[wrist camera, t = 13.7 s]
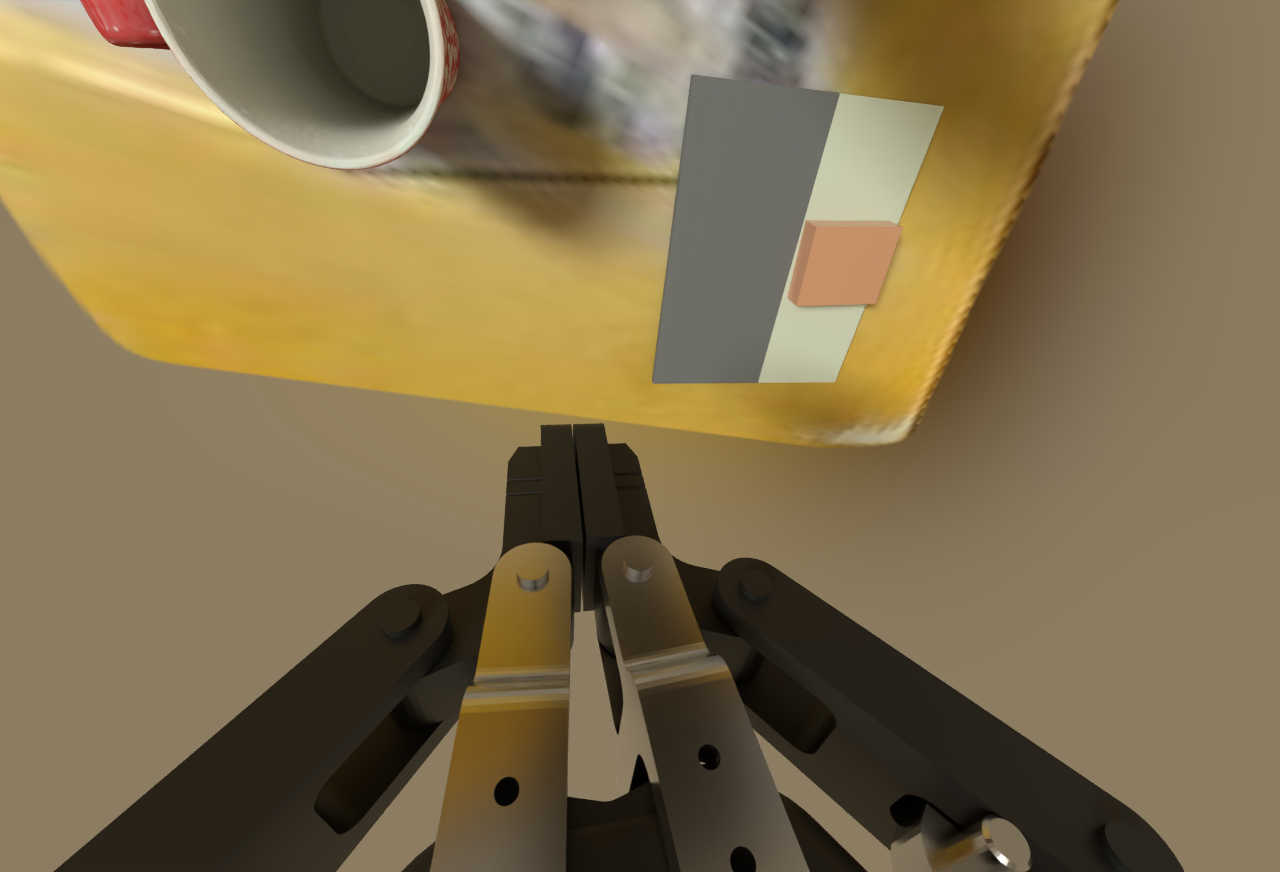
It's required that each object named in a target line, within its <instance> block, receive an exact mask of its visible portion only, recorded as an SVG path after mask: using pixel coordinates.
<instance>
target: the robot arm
mask: <svg viewBox="0 0 1280 872" xmlns="http://www.w3.org/2000/svg"><path fill="white" fill-rule="evenodd" d="M581 589H582V598H583V610H584V611H591V610H595V619H596V628H597V632H596V650H597V656H598V661H599V666H600V672H601V677H602V683H603V688H604V693H605V698H606V704H607V709H608V715H609V720H610V726H611V730H612V736H613V744H614V754H615V769H616V777H617V785H618V791H619V798H617V799H615V800H612V801H608V802H601V801H594V800H587V799H579V798H573V797H568V752H569V751H568V750H569V697H570V695H569V694H570V650H571V648H572V645H573V640H574V612H580V608H581ZM458 719H459V720H458ZM457 720H458V725H457V731H456V736H455V741H454V747H453V752H452V758H451V763H450V768H449V773H448V779H447V784H446V789H445V795H444V800H443V805H442V810H441V816H440V821H439V827H438V832H437V837H436V841H435V842H434V843H433V844H432V845H430V846H429V847H428V848H427V849H426V850H424V851H423V852H422V853H420V854H419V855H418V856H417V857H416V858H415V859H414V860H413V861H412V862H411V863H410V864H409V865H408V866H407V867H406V868H405V869H404V870H403V871H402V872H867V871H866V870H865V869H864V868H863V867H862V866H861V865H860V864H859V863H858V862H857V861H856V860H855V859H854V858H853V857H852V856H851V855H850V854H849V853H848V852H847V851H846V850H845V849H844V848H843V847H842V846H841V845H840V844H839V843H838V842H837V841H836V840H835V839H834V838H833V837H832V836H831V835H830V834H829V833H828V832H827V831H825V829H824V828H823V827H822V826H821V825H820V824H819V823H818V822H817V821H815V820H814V819H813V818H812V817H811V816H810V815H809V814H808V813H807V812H806V811H805V810H804V809H802V808H801V807H799V806H798V805H797V804H796V803H795V802H793V801H792V800H790V799H789V798H788V797H786V796H784V795H783V794H781V793H779V792H778V790H777V788H776V786H775V783H774V780H773V778H772V776H771V773H770V771H769V768H768V765H767V763H766V760H765V758H764V755H763V753H762V750H761V748H760V745H759V743H758V740H757V738H756V735H755V733H754V730H755V731H756V732H758V733H759V734H760V735H761V736H762V737H763V738H764V739H765V740H767V741H768V742H769V743H770V744H771V745H772V746H773V747H774V748H776V749H777V750H778V751H779V752H780V753H781V754H782V755H783V756H784V757H786V758H787V759H788V760H789V761H790V762H791V763H792V764H793V765H795V766H796V767H797V768H798V769H799V770H800V771H801V772H802V773H804V774H805V775H806V776H807V777H808V778H809V779H811V781H813V782H814V783H815V784H816V785H817V786H818V787H819V788H821V789H822V790H823V791H824V792H825V793H826V794H827V795H828V796H829V797H831V798H832V799H833V800H834V801H835V802H836V803H837V804H838V805H840V806H841V807H842V808H843V809H844V810H845V811H846V812H847V813H849V814H850V815H851V816H852V817H853V818H854V819H856V820H857V821H858V822H859V823H860V824H861V825H862V826H863V827H864V828H866V829H867V830H868V831H869V832H870V833H871V834H872V835H873V836H874V837H876V838H877V839H878V840H879V841H880V842H881V843H882V844H883V845H885V846H886V847H887V848H888V849H889V850H890V851H891V861H892V866H893V871H894V872H1184V870H1183V868H1182V866H1181V865H1180V863H1179V861H1178V860H1177V858H1176V857H1175V855H1174V853H1173V852H1172V851H1171V849H1170V848H1169V847H1168V845H1167V844H1166V843H1165V842H1164V840H1163V839H1162V838H1161V837H1160V836H1159V835H1158V834H1157V832H1156V831H1155V830H1154V829H1153V828H1152V827H1151V826H1150V825H1149V824H1148V823H1147V822H1146V821H1145V820H1143V819H1142V818H1141V817H1140V816H1139V815H1138V814H1137V813H1135V812H1134V811H1133V810H1131V809H1130V808H1129V807H1127V806H1126V805H1125V804H1123V803H1121V802H1120V801H1119V800H1117V799H1116V798H1114V797H1112V796H1111V795H1110V794H1108V793H1107V792H1105V791H1104V790H1102V789H1101V788H1100V787H1098V786H1097V785H1095V784H1094V783H1092V782H1090V781H1089V780H1088V779H1086V778H1085V777H1083V776H1082V775H1080V774H1079V773H1077V772H1076V771H1074V770H1073V769H1071V768H1070V767H1069V766H1067V765H1066V764H1064V763H1063V762H1061V761H1060V760H1058V759H1057V758H1055V757H1054V756H1052V755H1051V754H1049V753H1047V752H1046V751H1045V750H1043V749H1042V748H1040V747H1039V746H1038V745H1036V744H1035V743H1033V742H1032V741H1030V740H1029V739H1027V738H1026V737H1024V736H1023V735H1021V734H1020V733H1018V732H1017V731H1015V730H1014V729H1012V728H1011V727H1009V726H1008V725H1007V724H1005V723H1003V722H1002V721H1001V720H999V719H998V718H996V717H995V716H993V715H992V714H990V713H989V712H987V711H986V710H984V709H983V708H981V707H980V706H978V705H977V704H975V703H974V702H973V701H971V700H970V699H968V698H967V697H965V696H964V695H962V694H961V693H959V692H958V691H956V690H955V689H953V688H952V687H950V686H949V685H947V684H946V683H944V682H943V681H941V680H940V679H939V678H937V677H935V676H934V675H933V674H931V673H930V672H928V671H927V670H925V669H923V668H922V667H921V666H919V665H918V664H916V663H915V662H913V661H912V660H911V659H909V658H908V657H906V656H905V655H903V654H902V653H900V652H899V651H897V650H896V649H894V648H893V647H891V646H890V645H888V644H887V643H885V642H884V641H882V640H881V639H880V638H878V637H877V636H875V635H873V634H872V633H871V632H869V631H868V630H866V629H865V628H863V627H862V626H860V625H859V624H857V623H856V622H854V621H853V620H851V619H850V618H848V617H847V616H845V615H844V614H843V613H841V612H839V611H838V610H837V609H835V608H834V607H832V606H831V605H829V604H828V603H826V602H825V601H823V600H822V599H820V598H819V597H817V596H816V595H814V594H813V593H812V592H810V591H808V590H807V589H806V588H804V587H802V586H801V585H800V584H798V583H797V582H795V581H794V580H792V579H791V578H789V577H788V576H786V575H785V574H783V573H782V572H781V571H779V570H778V569H776V568H775V567H773V566H771V565H770V564H768V563H766V562H764V561H761V560H758V559H753V558H738V559H734V560H732V561H730V562H728V563H727V564H725V565H724V566H723V568H722V569H721V571H717V570H712V569H707V568H703V567H698V566H693V565H690V564H687V563H684V562H682V561H680V560H678V559H677V558H675V557H674V556H672V555H671V554H670V552H669V551H668V550H667V549H666V548H665V546H664V545H662V543H661V542H660V539H659V536H658V533H657V529H656V525H655V521H654V517H653V514H652V510H651V506H650V502H649V499H648V495H647V491H646V489H645V484H644V479H643V476H642V472H641V468H640V464H639V460H638V457H637V456H636V455H635V453H634V452H633V451H632V450H631V449H630V448H629V447H628V446H627V444H625V443H622V444H621V443H620V444H608V443H607V438H606V432H605V427H604V424H603V423H602V424H601V423H600V424H574V425H573V436H572V427H571V424H568V425H566V424H564V425H541V446H535V447H534V446H533V447H518V449H517V450H516V451H515V453H514V454H513V456H512V457H511V459H510V460H509V462H508V474H507V489H506V505H505V519H504V535H503V548H502V553H501V556H500V559H499V561H498V562H497V564H496V565H495V567H494V568H493V569H492V570H491V571H490V572H489V573H488V574H487V575H486V576H484V577H483V578H481V579H480V580H478V581H477V582H475V583H473V584H470V585H468V586H465V587H463V588H460V589H457V590H454V591H452V592H449V593H446V594H444V595H442V594H441V593H440V592H439V591H437V590H436V589H434V588H432V587H430V586H426V585H421V584H409V585H404V586H400V587H396V588H393V589H391V590H389V591H386V592H384V593H383V594H381V595H379V596H378V597H377V598H375V599H374V600H373V601H371V602H370V603H369V604H368V605H367V606H366V607H364V608H363V609H362V610H361V611H360V612H358V613H357V614H356V615H355V616H354V617H353V618H351V619H350V620H349V621H348V622H347V623H345V624H344V625H343V626H342V627H341V628H340V629H339V630H337V631H336V632H335V633H334V634H333V635H331V636H330V637H329V638H328V639H327V640H326V641H324V642H323V643H322V644H321V645H320V646H319V647H318V648H316V649H315V650H314V651H313V652H311V653H310V654H309V655H308V656H307V657H306V658H305V659H303V660H302V661H301V662H300V663H298V664H297V665H296V666H295V667H294V668H293V669H291V670H290V671H289V672H288V673H287V674H285V675H284V676H283V677H282V678H281V679H280V680H278V681H277V682H276V683H275V684H274V685H273V686H271V687H270V688H269V689H268V690H267V691H266V692H264V693H263V694H262V695H261V696H260V697H259V698H257V699H256V700H255V701H254V702H253V703H251V704H250V705H249V706H248V707H247V708H246V709H244V710H243V711H242V712H241V713H240V714H238V715H237V716H236V717H235V718H234V719H233V720H231V721H230V722H229V723H228V724H227V725H226V726H224V727H223V728H222V729H221V730H220V731H218V732H217V733H216V734H215V735H214V736H213V737H211V738H210V739H209V740H208V741H207V742H206V743H204V744H203V745H202V746H201V747H200V748H198V749H197V750H196V751H195V752H194V753H193V754H191V755H190V756H189V757H188V758H187V759H186V760H185V761H183V762H182V763H181V764H180V765H178V766H177V767H176V768H175V769H174V770H173V771H171V772H170V773H169V774H168V775H167V776H166V777H164V778H163V779H162V780H161V781H160V782H158V783H157V784H156V785H155V786H154V787H153V788H151V789H150V790H149V791H148V792H147V793H146V794H144V795H143V796H142V797H141V798H140V799H138V800H137V801H136V802H135V803H134V804H133V805H131V806H130V807H129V808H128V809H127V810H126V811H125V812H123V813H122V814H121V815H120V816H119V817H117V818H116V819H115V820H114V821H113V822H112V823H110V824H109V825H108V826H107V827H106V828H104V829H103V830H102V831H101V832H100V833H98V834H97V835H96V836H95V837H94V838H93V839H91V840H90V841H89V842H88V843H87V844H86V845H84V847H82V848H81V849H80V850H78V851H77V852H76V853H75V854H74V855H73V856H71V857H70V858H69V859H68V860H67V861H66V862H64V863H63V864H62V865H61V866H60V867H59V868H57V869H56V870H55V871H54V872H336V871H337V870H338V868H339V867H340V866H341V865H342V863H343V862H344V861H345V860H346V859H347V857H348V856H349V855H350V854H351V852H352V851H353V850H354V849H355V847H356V846H357V845H358V843H359V842H360V841H361V840H362V839H363V837H364V836H365V835H366V834H367V832H368V831H369V830H370V829H371V827H372V826H373V825H374V824H375V822H376V821H377V820H378V819H379V817H380V816H381V815H382V814H383V812H384V811H385V810H386V808H387V807H388V806H389V805H390V804H391V802H392V801H393V800H394V799H395V797H396V796H397V795H398V794H399V793H400V791H401V790H402V789H403V788H404V786H405V785H406V784H407V783H408V781H409V780H410V779H411V778H412V776H413V775H414V774H415V773H416V771H417V770H418V769H419V768H420V766H421V765H422V764H423V763H424V761H425V760H426V759H427V757H428V756H429V755H430V754H431V753H432V751H433V750H434V749H435V748H436V746H437V745H438V744H439V743H440V741H441V740H442V739H443V738H444V736H445V735H446V734H447V733H448V732H449V730H450V729H451V728H452V727H453V725H454V724H455V723H456V722H457ZM753 729H754V730H753Z"/></svg>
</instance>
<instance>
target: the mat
mask: <svg viewBox="0 0 1280 872" xmlns="http://www.w3.org/2000/svg"><path fill="white" fill-rule="evenodd" d="M943 109H944V106H938V105H930V104H922V103H914V102H906V101H898V100H890V99H882V98H874V97H866V96H858V95H850V94H842V93H834V92H826V91H818V90H810V89H802V88H794V87H786V86H778V85H770V84H762V83H754V82H746V81H738V80H730V79H722V78H714V77H706V76H698V75H691V81H690V89H689V97H688V105H687V113H686V120H685V128H684V136H683V144H682V151H681V159H680V167H679V175H678V182H677V190H676V198H675V206H674V214H673V221H672V229H671V237H670V245H669V252H668V260H667V268H666V276H665V283H664V291H663V299H662V307H661V314H660V322H659V330H658V338H657V346H656V353H655V361H654V369H653V377H652V381H653V384H656V383H802V382H835V381H836V379H837V376H838V374H839V371H840V369H841V366H842V364H843V361H844V359H845V356H846V354H847V351H848V348H849V346H850V343H851V341H852V338H853V336H854V333H855V331H856V328H857V326H858V323H859V321H860V318H861V316H862V313H863V311H864V308H865V306H866V304H856V305H821V306H796V305H795V304H794V303H792V302H791V301H790V300H789V299H788V298H787V296H788V292H789V288H790V284H791V280H792V275H793V271H794V267H795V263H796V259H797V254H798V250H799V246H800V242H801V238H802V234H803V229H804V225H805V221H806V220H831V221H891V222H893V223H896V224H898V222H899V220H900V217H901V215H902V212H903V210H904V207H905V205H906V202H907V200H908V197H909V195H910V192H911V190H912V187H913V185H914V182H915V180H916V177H917V174H918V172H919V169H920V167H921V164H922V162H923V159H924V157H925V154H926V152H927V149H928V147H929V144H930V142H931V139H932V137H933V134H934V132H935V129H936V127H937V124H938V122H939V119H940V116H941V114H942V111H943Z"/></svg>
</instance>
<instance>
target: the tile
mask: <svg viewBox="0 0 1280 872" xmlns="http://www.w3.org/2000/svg"><path fill="white" fill-rule="evenodd" d="M902 229H903V227H902V226H900V225H898V224H896V223H893V222H891V221H831V220H806V221H805V225H804V229H803V234H802V238H801V242H800V246H799V250H798V254H797V259H796V263H795V267H794V271H793V275H792V280H791V284H790V288H789V292H788V296H787V298H788V299H789V300H790V301H791V302H792V303H794V304H795V305H796V306H821V305H856V304H876V301H877V298H878V295H879V293H880V290H881V287H882V284H883V281H884V279H885V276H886V273H887V270H888V268H889V265H890V262H891V259H892V256H893V254H894V251H895V248H896V245H897V242H898V240H899V237H900V234H901V231H902Z"/></svg>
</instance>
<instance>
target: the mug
mask: <svg viewBox="0 0 1280 872" xmlns="http://www.w3.org/2000/svg"><path fill="white" fill-rule="evenodd" d="M80 1H81V3H82V5H83V6H84V8H85V10H86V12H87V13H88V15H89V17H90V18H91V20H92V22H93V23H94V25H95V27H96V28H97V30H98V31H99V32H100V33H101V35H102V36H103V37H104V38H105V39H106V40H107V41H108V42H109V43H111V44H113V45H116V46H120V47H135V48H154V49H167V50H171V51H172V53H173V54H174V56H175V57H176V58H177V60H178V61H179V63H180V64H181V65H182V67H183V68H184V69H185V71H186V72H187V73H188V74H189V76H190V77H191V78H192V80H193V81H194V82H195V83H196V84H197V86H198V87H199V88H200V89H201V90H202V91H203V92H204V93H205V95H206V96H207V97H208V98H209V99H210V100H211V101H212V102H213V103H214V104H215V105H216V106H217V107H218V108H219V109H220V110H221V111H222V112H223V113H224V114H226V115H227V116H228V117H229V118H230V119H232V120H233V121H234V122H235V123H236V124H238V125H239V126H240V127H242V128H243V129H244V130H246V131H247V132H248V133H250V134H251V135H253V136H254V137H256V138H257V139H259V140H260V141H262V142H264V143H265V144H267V145H269V146H270V147H272V148H274V149H276V150H278V151H280V152H282V153H284V154H286V155H288V156H290V157H293V158H295V159H298V160H301V161H303V162H306V163H309V164H312V165H316V166H321V167H326V168H331V169H338V170H361V169H368V168H373V167H378V166H381V165H384V164H386V163H389V162H391V161H393V160H396V159H397V158H399V157H401V156H402V155H404V154H405V153H407V152H408V151H409V150H410V149H412V148H413V147H414V146H415V145H416V144H417V143H418V142H419V141H420V140H421V139H422V137H423V136H424V135H425V133H426V132H427V130H428V129H429V127H430V125H431V123H432V121H433V119H434V117H435V115H436V112H437V110H438V109H439V108H440V106H441V105H442V104H443V103H444V102H445V100H446V99H447V98H448V96H449V95H450V93H451V91H452V90H453V88H454V85H455V82H456V79H457V75H458V71H459V63H460V50H459V40H458V35H457V30H456V26H455V23H454V20H453V17H452V15H451V12H450V10H449V8H448V5H447V3H446V1H445V0H80Z"/></svg>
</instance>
